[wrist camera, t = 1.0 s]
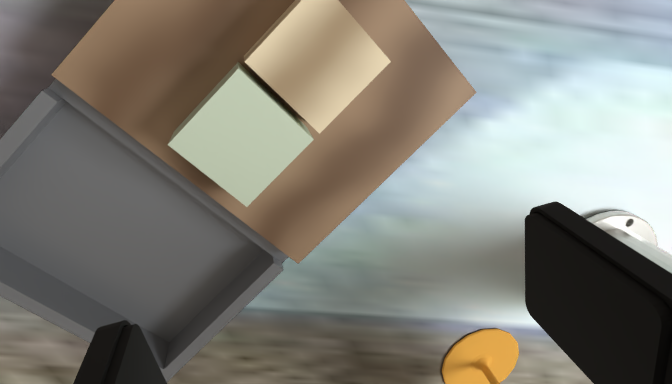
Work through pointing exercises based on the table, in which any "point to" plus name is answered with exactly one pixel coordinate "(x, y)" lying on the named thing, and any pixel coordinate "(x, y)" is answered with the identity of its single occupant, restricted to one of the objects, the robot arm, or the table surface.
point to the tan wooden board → (228, 49)
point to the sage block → (241, 136)
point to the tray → (118, 234)
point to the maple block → (316, 59)
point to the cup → (481, 358)
